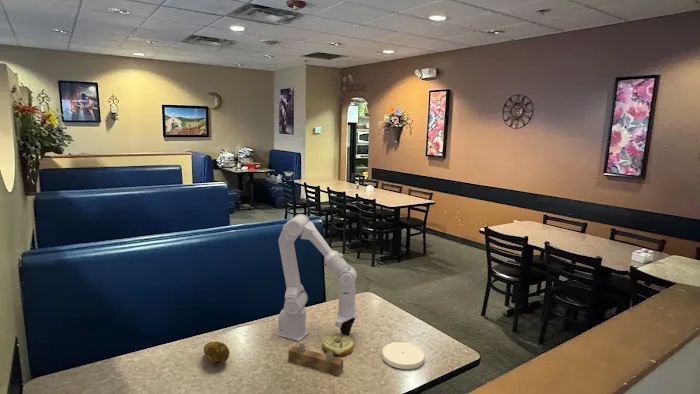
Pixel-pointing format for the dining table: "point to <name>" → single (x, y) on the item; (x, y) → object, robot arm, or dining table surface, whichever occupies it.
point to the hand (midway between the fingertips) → (345, 337)
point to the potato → (216, 352)
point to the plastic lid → (403, 355)
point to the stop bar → (315, 360)
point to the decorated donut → (338, 344)
